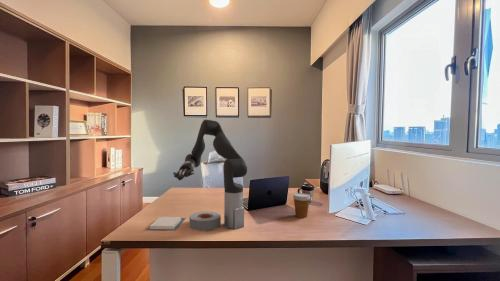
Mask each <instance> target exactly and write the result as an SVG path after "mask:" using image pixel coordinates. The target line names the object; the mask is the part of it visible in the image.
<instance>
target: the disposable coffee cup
mask: <svg viewBox="0 0 500 281" xmlns="http://www.w3.org/2000/svg"><path fill="white" fill-rule="evenodd" d="M292 198H293V203H294V205H293V206H294V211H295V212H294V213H295V217H296V218H299V217H300V219H303V218H308V212H309V206H310V205H309V204H310V199H311V197H310V194H309V193H304V192H303V193H301V192H296V193H294V194H293V196H292Z"/></svg>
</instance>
